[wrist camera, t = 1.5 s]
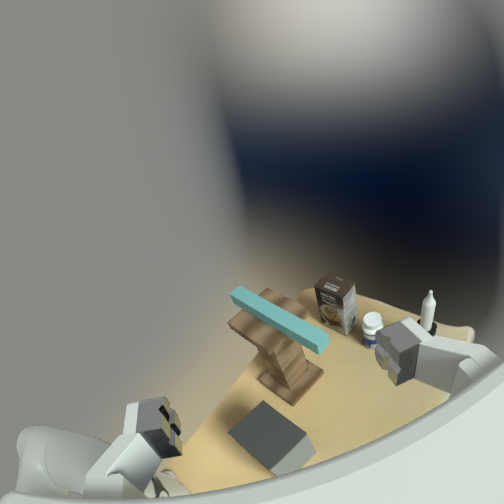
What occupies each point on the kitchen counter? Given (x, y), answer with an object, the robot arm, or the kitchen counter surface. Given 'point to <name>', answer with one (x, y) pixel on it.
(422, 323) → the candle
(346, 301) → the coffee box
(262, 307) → the teal bar
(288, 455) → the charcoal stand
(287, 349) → the walnut stand
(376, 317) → the pill bottle
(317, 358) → the kitchen counter surface
